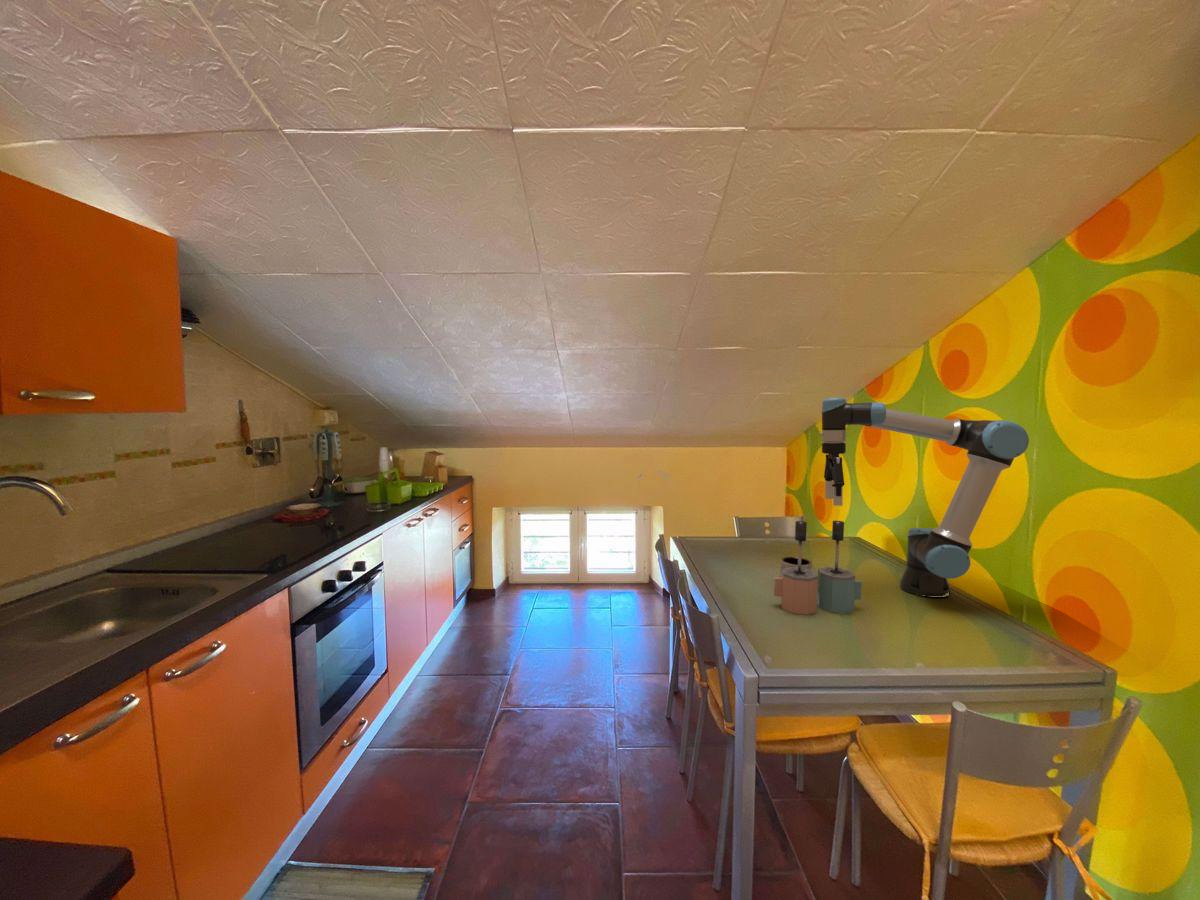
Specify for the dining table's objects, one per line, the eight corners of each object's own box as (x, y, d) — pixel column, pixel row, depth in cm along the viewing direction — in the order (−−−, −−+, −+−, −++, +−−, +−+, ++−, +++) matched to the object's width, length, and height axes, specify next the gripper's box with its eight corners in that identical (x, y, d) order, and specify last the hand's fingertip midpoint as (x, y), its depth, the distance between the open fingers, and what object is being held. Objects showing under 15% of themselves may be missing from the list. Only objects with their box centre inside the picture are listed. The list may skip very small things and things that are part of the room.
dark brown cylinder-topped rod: (846, 577, 161) (848, 519, 160) (852, 585, 154) (854, 525, 152) (820, 575, 163) (822, 518, 162) (825, 583, 156) (827, 523, 154)
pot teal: (855, 603, 162) (857, 569, 161) (864, 615, 152) (865, 579, 151) (815, 599, 165) (816, 565, 165) (820, 611, 155) (822, 575, 155)
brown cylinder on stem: (809, 577, 160) (812, 520, 159) (814, 586, 153) (816, 525, 151) (784, 575, 163) (786, 518, 161) (787, 583, 155) (789, 523, 153)
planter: (805, 581, 184) (806, 556, 183) (815, 591, 173) (816, 565, 172) (776, 580, 185) (777, 555, 184) (784, 590, 174) (785, 564, 173)
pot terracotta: (812, 603, 162) (813, 569, 161) (817, 615, 152) (819, 579, 151) (772, 599, 165) (773, 565, 164) (775, 611, 155) (776, 575, 154)
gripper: (815, 440, 180) (815, 496, 181) (829, 444, 156) (829, 508, 157) (837, 440, 178) (837, 496, 180) (854, 444, 154) (854, 508, 155)
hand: (833, 502), depth 168 cm, fingers open, 13 cm apart
